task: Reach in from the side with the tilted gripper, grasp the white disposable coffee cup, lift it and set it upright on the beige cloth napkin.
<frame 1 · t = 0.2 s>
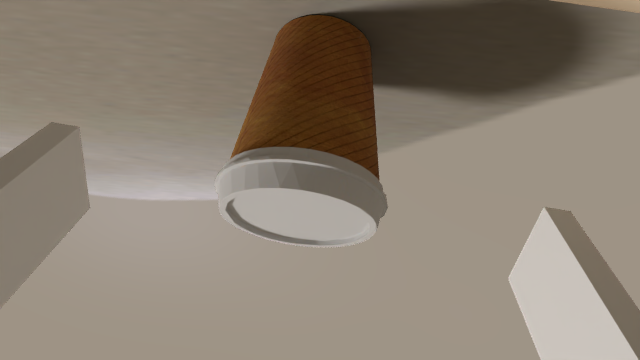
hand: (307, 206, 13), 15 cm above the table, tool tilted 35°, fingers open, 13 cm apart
disposable coffee cup: (323, 48, 30), on the table
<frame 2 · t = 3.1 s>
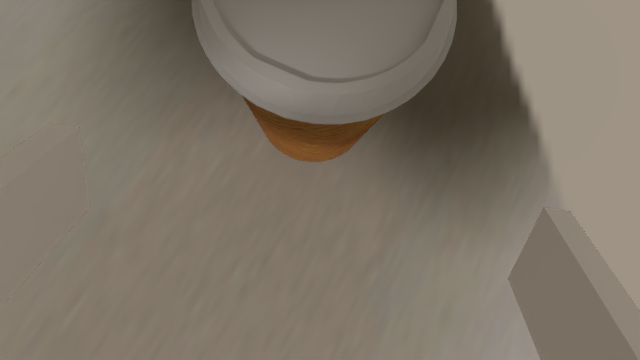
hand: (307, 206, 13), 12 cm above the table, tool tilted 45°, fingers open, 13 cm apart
disposable coffee cup: (312, 111, 27), on the table
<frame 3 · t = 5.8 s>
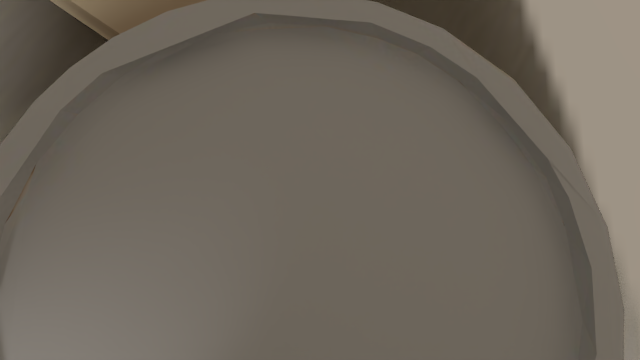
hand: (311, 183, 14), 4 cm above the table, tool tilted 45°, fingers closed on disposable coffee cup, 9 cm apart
disposable coffee cup: (293, 288, 18), on the table, touching gripper
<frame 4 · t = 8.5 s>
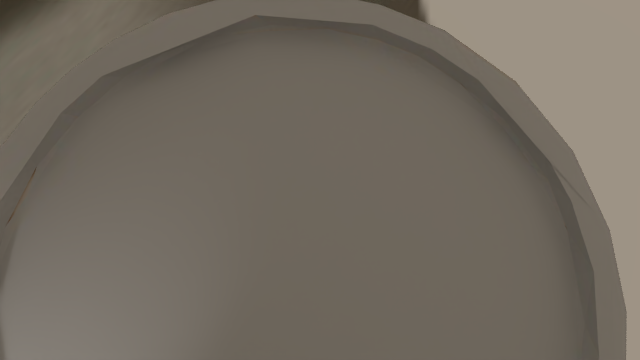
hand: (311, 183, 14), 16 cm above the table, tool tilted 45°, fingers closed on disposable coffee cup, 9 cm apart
disposable coffee cup: (293, 289, 18), point 12 cm above the table, touching gripper
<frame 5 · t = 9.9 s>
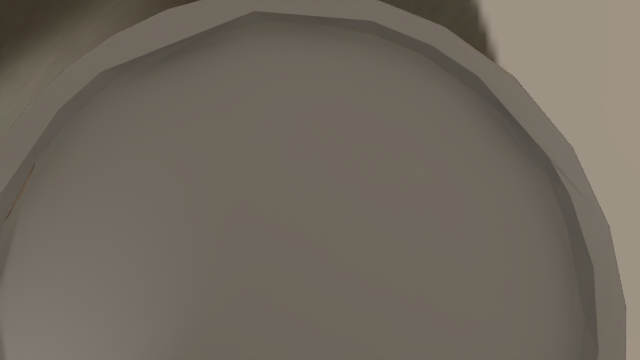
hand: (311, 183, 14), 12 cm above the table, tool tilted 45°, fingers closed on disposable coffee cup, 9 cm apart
disposable coffee cup: (293, 288, 18), point 8 cm above the table, touching gripper
when the fingers open (8 cm above the table, at t = 11.1 s): disposable coffee cup drops 2 cm, resting on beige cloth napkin.
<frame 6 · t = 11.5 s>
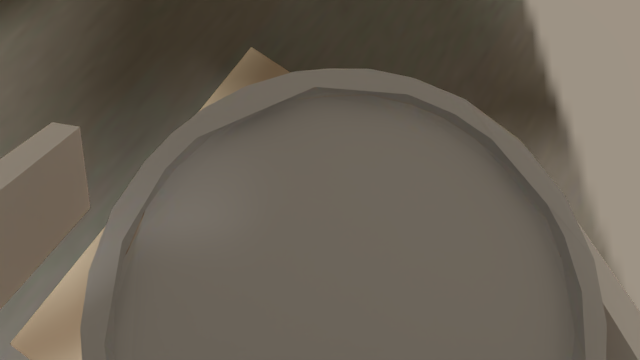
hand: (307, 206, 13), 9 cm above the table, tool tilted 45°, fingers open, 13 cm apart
disposable coffee cup: (312, 296, 19), point 2 cm above the table, touching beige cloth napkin
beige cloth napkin: (292, 288, 21), on the table
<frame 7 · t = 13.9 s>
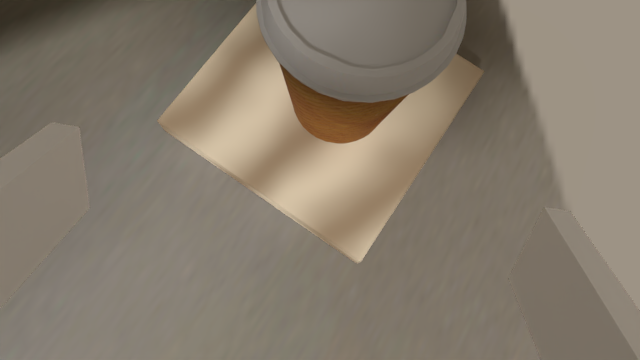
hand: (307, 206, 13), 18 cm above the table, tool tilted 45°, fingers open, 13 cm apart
disposable coffee cup: (338, 100, 31), point 2 cm above the table, touching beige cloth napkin
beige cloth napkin: (324, 106, 33), on the table
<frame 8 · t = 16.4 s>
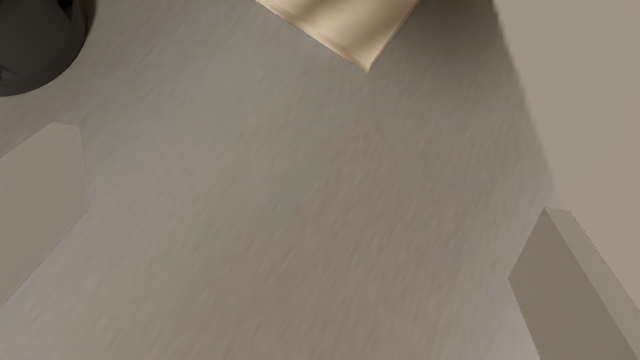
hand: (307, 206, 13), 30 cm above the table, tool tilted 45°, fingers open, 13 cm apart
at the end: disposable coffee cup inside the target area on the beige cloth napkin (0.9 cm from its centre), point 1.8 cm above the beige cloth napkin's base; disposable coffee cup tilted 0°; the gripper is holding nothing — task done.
